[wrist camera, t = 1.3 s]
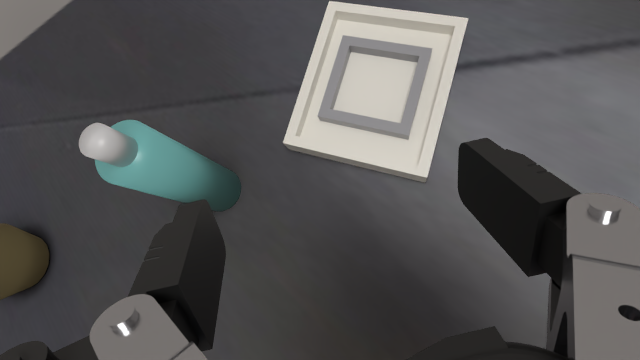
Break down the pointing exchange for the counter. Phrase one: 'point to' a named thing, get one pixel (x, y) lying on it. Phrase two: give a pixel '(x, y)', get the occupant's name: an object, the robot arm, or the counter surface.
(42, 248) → the squeeze bottle
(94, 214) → the counter surface
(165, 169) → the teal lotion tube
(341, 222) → the counter surface
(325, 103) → the tray
